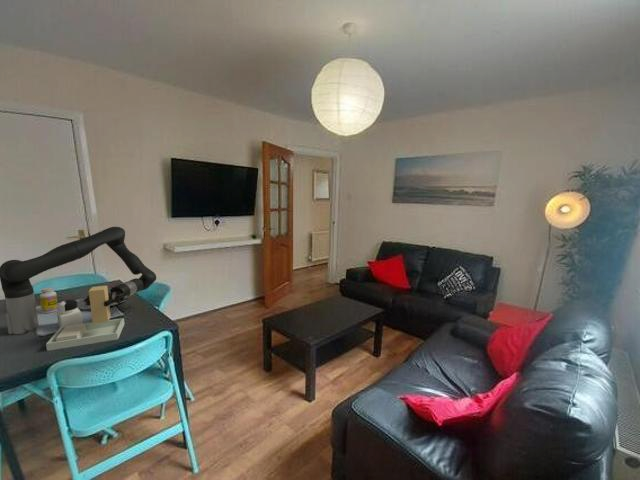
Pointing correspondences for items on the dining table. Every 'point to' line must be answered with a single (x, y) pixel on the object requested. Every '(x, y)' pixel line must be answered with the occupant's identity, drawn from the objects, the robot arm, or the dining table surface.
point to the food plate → (83, 303)
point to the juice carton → (99, 304)
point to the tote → (90, 334)
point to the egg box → (72, 332)
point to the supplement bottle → (48, 300)
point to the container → (69, 313)
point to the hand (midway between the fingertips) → (96, 303)
